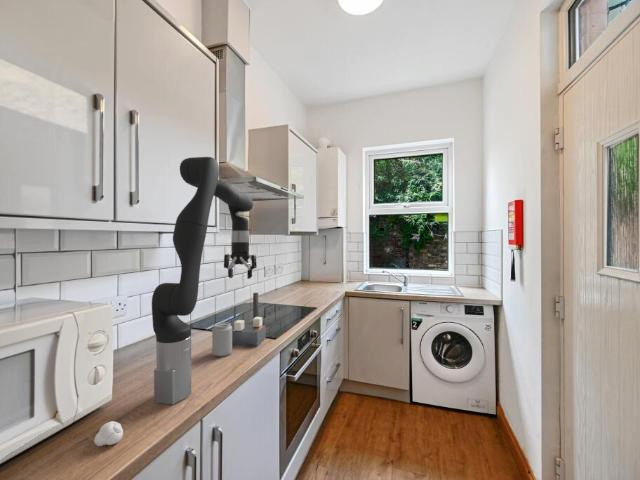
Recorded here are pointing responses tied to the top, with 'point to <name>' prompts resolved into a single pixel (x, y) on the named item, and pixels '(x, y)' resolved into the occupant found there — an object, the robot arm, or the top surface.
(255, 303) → the post
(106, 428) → the microfossil shell
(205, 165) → the robot arm
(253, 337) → the grey storage bin
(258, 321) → the toggle far
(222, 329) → the can
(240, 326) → the toggle near
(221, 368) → the top surface
